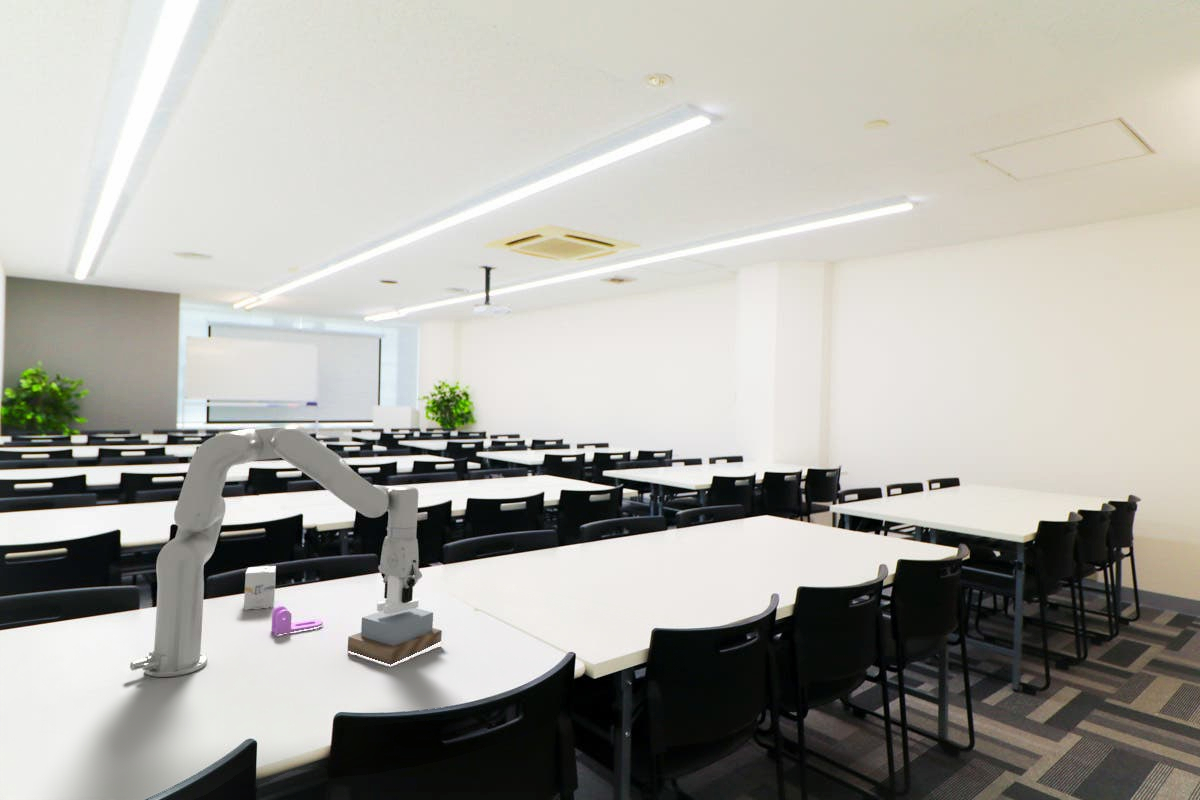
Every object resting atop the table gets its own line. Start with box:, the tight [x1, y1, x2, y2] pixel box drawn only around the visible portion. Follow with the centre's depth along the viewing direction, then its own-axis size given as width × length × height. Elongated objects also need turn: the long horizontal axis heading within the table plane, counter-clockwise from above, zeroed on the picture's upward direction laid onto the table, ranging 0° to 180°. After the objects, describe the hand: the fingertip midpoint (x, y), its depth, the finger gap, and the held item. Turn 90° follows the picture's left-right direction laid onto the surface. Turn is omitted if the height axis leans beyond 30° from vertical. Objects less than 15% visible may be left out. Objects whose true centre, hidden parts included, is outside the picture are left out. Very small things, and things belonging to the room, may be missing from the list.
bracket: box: [271, 605, 323, 635], centre depth 184 cm, size 13×6×7 cm, turn 130°
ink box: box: [243, 565, 277, 611], centre depth 204 cm, size 9×8×12 cm
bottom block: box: [347, 627, 443, 665], centre depth 172 cm, size 18×16×5 cm
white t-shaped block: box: [376, 575, 420, 614], centre depth 172 cm, size 5×10×10 cm, turn 141°
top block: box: [360, 607, 434, 646], centre depth 172 cm, size 14×12×5 cm
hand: (398, 598), depth 172 cm, fingers closed on white t-shaped block, 5 cm apart
